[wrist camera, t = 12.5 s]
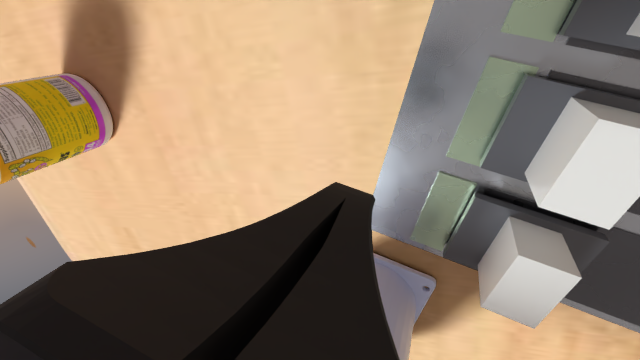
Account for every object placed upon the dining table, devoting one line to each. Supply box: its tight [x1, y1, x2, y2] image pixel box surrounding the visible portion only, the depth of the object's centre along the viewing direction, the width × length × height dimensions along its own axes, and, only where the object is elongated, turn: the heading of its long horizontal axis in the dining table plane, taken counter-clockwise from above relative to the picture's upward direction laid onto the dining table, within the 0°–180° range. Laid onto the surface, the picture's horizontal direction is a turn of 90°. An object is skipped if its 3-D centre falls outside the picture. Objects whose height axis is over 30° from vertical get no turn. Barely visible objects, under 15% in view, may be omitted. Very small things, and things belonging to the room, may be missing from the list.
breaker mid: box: [480, 73, 640, 230], centre depth 12 cm, size 4×6×4 cm
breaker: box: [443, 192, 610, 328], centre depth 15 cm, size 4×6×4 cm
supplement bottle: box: [0, 73, 113, 184], centre depth 23 cm, size 7×7×13 cm
